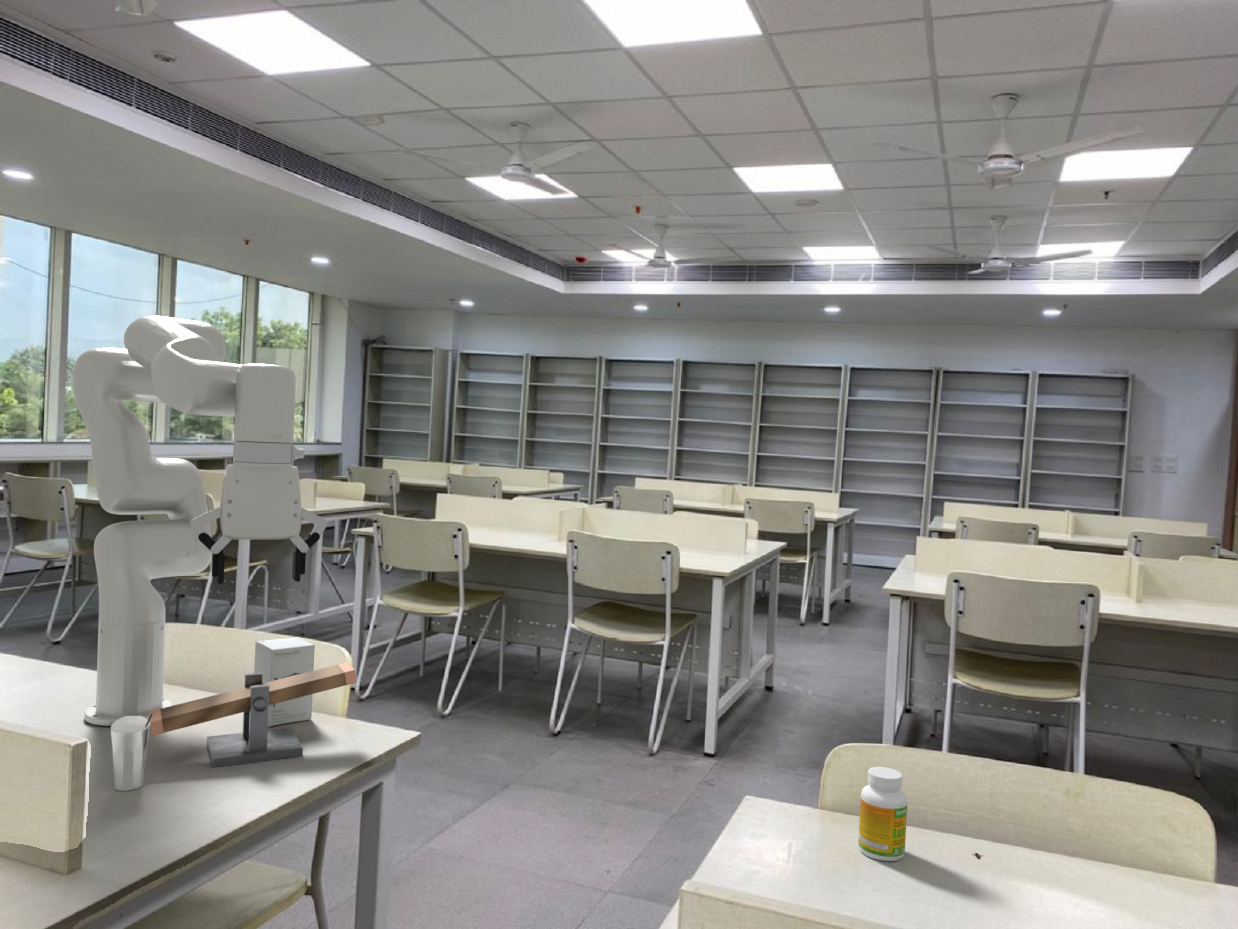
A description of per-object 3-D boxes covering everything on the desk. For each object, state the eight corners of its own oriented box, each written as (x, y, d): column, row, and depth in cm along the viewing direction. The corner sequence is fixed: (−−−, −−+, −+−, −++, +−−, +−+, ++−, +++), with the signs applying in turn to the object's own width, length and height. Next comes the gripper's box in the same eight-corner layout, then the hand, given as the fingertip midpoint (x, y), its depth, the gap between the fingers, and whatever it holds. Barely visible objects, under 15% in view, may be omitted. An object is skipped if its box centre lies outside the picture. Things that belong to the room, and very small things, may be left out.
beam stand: (212, 767, 124) (215, 693, 124) (206, 744, 133) (209, 675, 132) (302, 756, 130) (305, 684, 129) (291, 735, 138) (293, 668, 138)
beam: (151, 736, 122) (149, 722, 122) (150, 725, 127) (148, 711, 126) (356, 682, 136) (354, 669, 135) (349, 674, 140) (347, 662, 140)
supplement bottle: (897, 867, 103) (902, 784, 103) (852, 854, 106) (856, 773, 106) (909, 850, 108) (913, 771, 108) (865, 838, 111) (869, 761, 111)
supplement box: (267, 728, 141) (270, 649, 141) (251, 716, 147) (254, 640, 146) (313, 720, 146) (315, 644, 146) (295, 708, 152) (298, 635, 151)
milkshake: (136, 796, 113) (139, 718, 113) (100, 791, 114) (102, 714, 114) (161, 783, 118) (164, 708, 118) (126, 778, 119) (129, 704, 119)
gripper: (325, 456, 128) (320, 575, 128) (192, 452, 120) (187, 578, 120) (334, 458, 121) (329, 583, 121) (193, 454, 113) (188, 588, 113)
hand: (258, 581), depth 121 cm, fingers open, 9 cm apart
